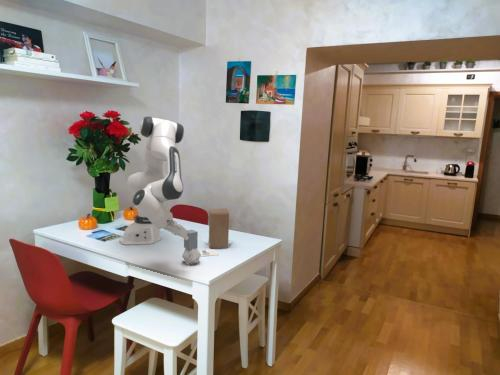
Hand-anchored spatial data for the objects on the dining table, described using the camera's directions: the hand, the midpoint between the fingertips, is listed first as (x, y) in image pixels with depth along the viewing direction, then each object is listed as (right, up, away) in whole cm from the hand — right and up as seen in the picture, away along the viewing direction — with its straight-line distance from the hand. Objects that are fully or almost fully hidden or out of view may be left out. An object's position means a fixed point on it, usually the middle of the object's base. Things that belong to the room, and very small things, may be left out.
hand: (181, 236), depth 170 cm
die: (+4, -14, +6) cm, 16 cm away
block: (+14, -10, +32) cm, 37 cm away
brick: (+3, -6, +5) cm, 8 cm away
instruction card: (+9, -12, +20) cm, 24 cm away
